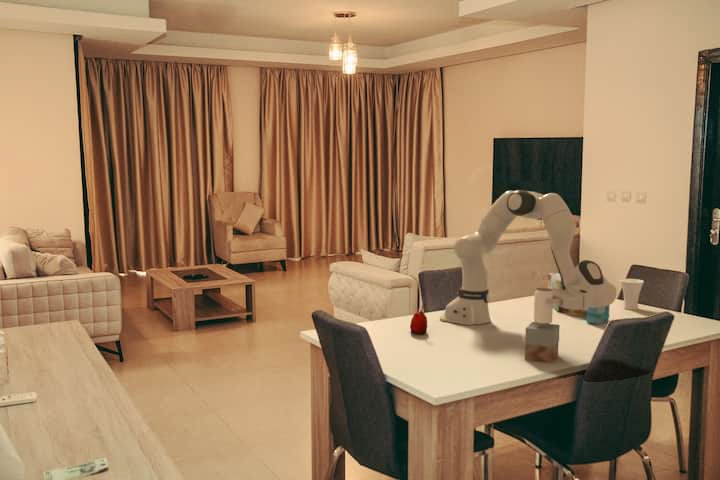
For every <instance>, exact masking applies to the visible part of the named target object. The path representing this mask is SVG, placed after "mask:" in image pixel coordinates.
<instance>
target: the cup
mask: <svg viewBox="0 0 720 480" xmlns="http://www.w3.org/2000/svg"><path fill="white" fill-rule="evenodd" d="M619 282H620V286H621V288H622V292H623V307H622V308H623V309H625V310H630V311H634V310H635V311H637V310H638V308H639V304H638V303H639V297H640V293H641V290H642V287H643V284H644V282H645V281H644V280H642V279H638V278H622V279H620V280H619Z"/></svg>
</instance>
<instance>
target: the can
mask: <svg viewBox="0 0 720 480" xmlns="http://www.w3.org/2000/svg"><path fill="white" fill-rule="evenodd" d="M533 299H534V300H533V301H534V302H533V303H534V305H533V308H534V309H533V322H536V323H540V324H552V322H553V312H554V311H553V309H554V308H553V304H551V305H548V304H546V299H553V293H552V290H551V289H548V287H547V288H546V287H540V288H539V287H537V288H535V292H534V298H533Z"/></svg>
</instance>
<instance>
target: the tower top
mask: <svg viewBox="0 0 720 480" xmlns="http://www.w3.org/2000/svg"><path fill="white" fill-rule="evenodd" d="M524 336H525V337H524V339H525V341H524V344H528V345H536V346H544V347H552V348H553V347H554V346H555V345H556V344H557V343H558V341H559V342H560V324H554V323H549V324H540V323H536V322H535V321H531V322H530V323H529V324H528V326H527V327H525V335H524ZM558 344H559V343H558Z"/></svg>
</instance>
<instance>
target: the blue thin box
mask: <svg viewBox="0 0 720 480" xmlns="http://www.w3.org/2000/svg"><path fill="white" fill-rule="evenodd" d="M609 318H610V305H608V306H603V307H596V308H592V307H588V310H587V316H586V323H587V324H592V325H596V324H597V325H600V324H602V322H603V323H605V321H606V322H608V320H610V319H609Z"/></svg>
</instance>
